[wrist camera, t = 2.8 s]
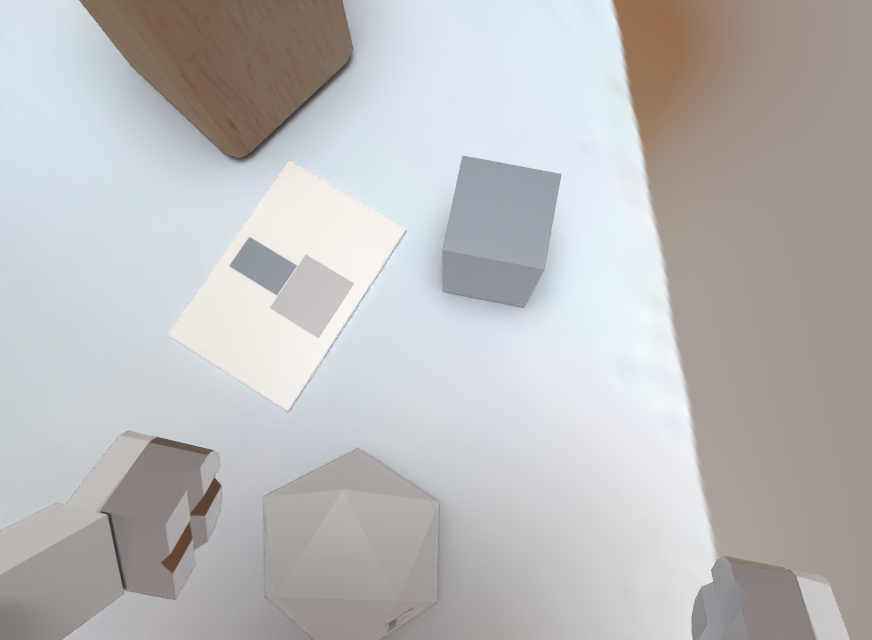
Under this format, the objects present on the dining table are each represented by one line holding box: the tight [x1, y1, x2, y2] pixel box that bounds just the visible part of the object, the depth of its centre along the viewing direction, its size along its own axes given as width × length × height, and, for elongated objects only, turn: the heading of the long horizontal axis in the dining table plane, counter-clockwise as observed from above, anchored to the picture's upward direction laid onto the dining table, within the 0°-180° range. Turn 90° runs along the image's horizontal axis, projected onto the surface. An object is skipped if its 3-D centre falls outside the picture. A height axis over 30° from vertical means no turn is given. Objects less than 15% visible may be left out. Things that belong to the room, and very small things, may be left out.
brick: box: [443, 156, 561, 308], centre depth 35 cm, size 5×5×8 cm
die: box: [263, 448, 439, 640], centre depth 33 cm, size 8×9×10 cm
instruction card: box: [168, 161, 406, 412], centre depth 39 cm, size 12×8×1 cm, turn 148°
